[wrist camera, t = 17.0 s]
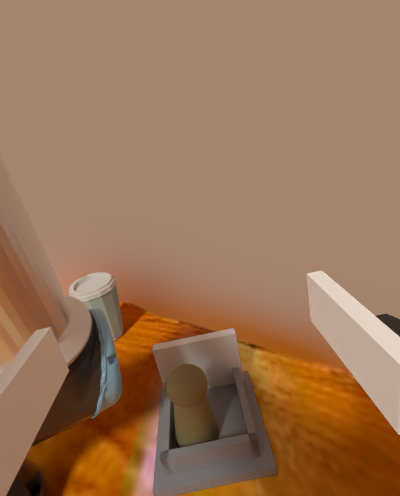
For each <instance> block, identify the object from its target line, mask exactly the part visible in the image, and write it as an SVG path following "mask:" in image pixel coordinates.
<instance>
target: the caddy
mask: <svg viewBox="0 0 400 496" xmlns="http://www.w3.org/2000/svg"><path fill="white" fill-rule="evenodd" d="M153 354H154V357H155V361H156V364H157V367H158V371H159V374H160V377H161V380H162V384H163V387H164V388H163V389H161V399H160V411H159V423H158V436H157V448H156V461H155V473H154V485H153V494H154V496H173V495H178V494H183V493H188V492H192V491H197V490H202V489H207V488H212V487H217V486H222V485H226V484H231V483H236V482H241V481H246V480H251V479H256V478H260V477H265V476H270V475H275V474H278V471H277V466H276V462H275V459H274V456H273V452H272V449H271V446H270V443H269V439H268V436H267V433H266V429H265V426H264V423H263V420H262V416H261V413H260V410H259V406H258V403H257V400H256V397H255V393H254V390H253V387H252V383H251V380H250V377H249V374H248V371H245V372H243V371H242V366H241V360H240V355H239V350H238V344H237V339H236V333H235V330H234V328H231V329H226V330H221V331H216V332H211V333H207V334H202V335H197V336H192V337H187V338H183V339H178V340H173V341H168V342H163V343H159V344H154V345H153ZM184 364H193V365H196V366H198V367H199V368H201V369H202V371H203V372H204V373H205V375H206V378H207V382H208V386H207V393H206V396H207V398H208V401H209V404H210V406H211V409H212V412H213V415H214V417H215V420H216V423H217V426H218V429H219V438H218V440H215V441H210V442H205V443H200V444H195V445H190V446H186V447H181V448H179V447H178V445H177V444H176V435H175V419H174V403H173V402H172V401H171V400H170V398H169V396H168V394H167V389H166V382H167V379H168V376H169V375H170V373H171V372H172V371H173V370H174V369H175V368H176V367H178V366H180V365H184Z"/></svg>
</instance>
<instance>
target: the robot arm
mask: <svg viewBox="0 0 400 496" xmlns="http://www.w3.org/2000/svg"><path fill="white" fill-rule="evenodd" d="M307 282H308V293H309V304H310V316H311V321H312V322H313V324H314V325H315V326H316V328H317V329H318V330H319V332H320V333H321V334H322V335H323V337H324V338H325V339H326V341H327V342H328V343H329V345H330V346H331V347H332V349H333V350H334V351H335V352H336V353H337V355H338V356H339V358H340V359H341V360H342V362H343V363H344V364H345V366H346V367H347V368H348V369H349V371H350V372H351V373H352V375H353V376H354V377H355V379H356V380H357V381H358V383H359V384H360V385H361V386H362V388H363V389H364V390H365V392H366V393H367V394H368V396H369V397H370V398H371V400H372V401H373V402H374V403H375V405H376V406H377V407H378V409H379V410H380V411H381V413H382V414H383V415H384V416H385V418H386V419H387V420H388V422H389V423H390V424H391V426H392V427H393V428H394V430H395V431H396V432H397V433H398V435H399V434H400V319H398V318H395V317H393V316H391V315H388V314H382V315H378V316H374V315H373V314H372V313H371V312H370V311H369V310H367V309H366V308H365V307H364V306H363V305H362V304H360V303H359V302H358V301H357V300H356V299H354V298H353V297H352V296H351V295H350V294H349V293H347V292H346V291H345V290H344V289H343V288H342V287H340V286H339V285H338V284H337V283H336V282H335V281H333V280H332V279H331V278H330V277H329V276H328V275H326V274H325V273H324V272H323V271H318V272H313V273H308V274H307ZM121 394H122V379H121V373H120V367H119V363H118V359H117V357H116V351H115V345H114V341H113V338H112V334H111V330H110V327H109V324H108V321H107V318H106V316H105V314H104V312H103V311H102V310H101V309H94V310H93V309H89V310H88V309H87V307H86V306H85V304H84V303H83V302H81V301H80V300H79V299H76V298H74V297H71V296H68V295H65V294H64V292H63V289H62V287H61V285H60V283H59V281H58V278H57V276H56V274H55V272H54V270H53V267H52V265H51V263H50V261H49V259H48V257H47V254H46V252H45V250H44V248H43V245H42V243H41V241H40V239H39V237H38V234H37V232H36V230H35V228H34V226H33V223H32V221H31V219H30V217H29V215H28V212H27V210H26V208H25V206H24V204H23V202H22V199H21V197H20V195H19V193H18V190H17V189H16V186H15V184H14V182H13V180H12V177H11V175H10V173H9V171H8V168H7V167H6V164H5V162H4V160H3V158H2V155H1V153H0V496H50V487H49V484H48V482H47V480H46V478H45V476H44V474H43V472H42V470H41V469H40V468H39V467H38V466H37V465H36V464H35V463H34V462H32V461H30V460H29V459H27V458H25V457H26V455H27V453H28V451H29V449H30V447H32V446H34V445H36V444H38V443H40V442H42V441H44V440H46V439H48V438H50V437H52V436H54V435H56V434H58V433H60V432H62V431H65V430H67V429H69V428H71V427H73V426H75V425H77V424H79V423H81V422H83V421H85V420H87V419H93V418H95V417H96V416H97V415H98V414H99V413H100V412H102V411H104V410H106V409H108V408H109V407H111V406H113V405H114V404H116V403H117V402H118V400H119V399H120V397H121Z"/></svg>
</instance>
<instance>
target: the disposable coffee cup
mask: <svg viewBox="0 0 400 496" xmlns="http://www.w3.org/2000/svg"><path fill="white" fill-rule="evenodd" d="M69 288H70V291H69V296H71V297H74V298H76V299H79V300H80V301H81V302H83V303H84V304H85V306H86V307H87V309H88V310H89V309H93V310H94V309H101V310H102V311H103V312H104V314H105V316H106V318H107V321H108V324H109V327H110V330H111V334H112V338H113V341H115V340H117V339H118V338H119V337H121V336H122V334H123V332H124V331H123V330H124V326H123V321H122V315H121V310H120V305H119V299H118V294H117V289H116V281H115V279H114V277H113V276H111V275H110V274H108V273H105V272H99V273H92V274H90V275H86V276H84V277H82V278H80V279H78V280H76V281H75V282H74V283H73V284H72V285H71V286H70V287H69Z"/></svg>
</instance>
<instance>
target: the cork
mask: <svg viewBox="0 0 400 496" xmlns="http://www.w3.org/2000/svg"><path fill="white" fill-rule="evenodd" d="M207 386H208V382H207V378H206V375H205V373H204V372H203V371H202V369H201V368H199V367H198V366H196V365H193V364H184V365H180V366H178V367H176V368H175V369H174V370H173V371H172V372H171V373H170V375H169V376H168V379H167V382H166V389H167V394H168V396H169V398H170V400H171V401H172V402H173V403H174V419H175V435H176V444H177V445H178V447H179V448H181V447H186V446H190V445H195V444H200V443H205V442H210V441H215V440H218V438H219V429H218V426H217V423H216V420H215V417H214V415H213V412H212V409H211V406H210V404H209V401H208V398H207V396H206V393H207Z"/></svg>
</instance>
